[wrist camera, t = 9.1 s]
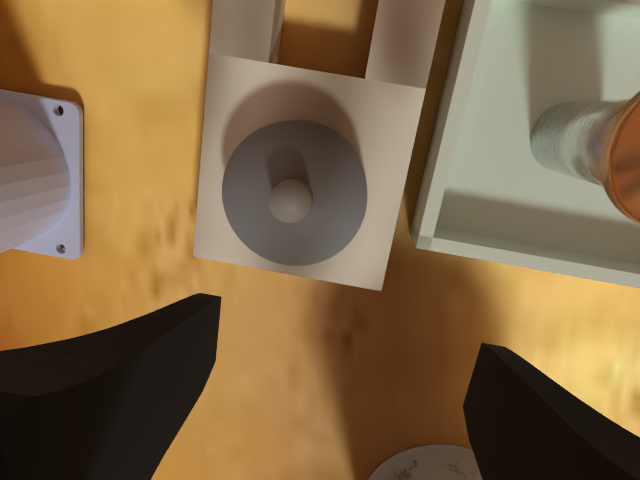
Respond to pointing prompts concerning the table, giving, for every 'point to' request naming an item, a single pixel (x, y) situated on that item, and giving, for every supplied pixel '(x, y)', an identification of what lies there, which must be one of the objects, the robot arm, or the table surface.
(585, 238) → the tray
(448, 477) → the grey cylinder
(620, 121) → the pin
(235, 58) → the white holder block
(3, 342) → the table surface
